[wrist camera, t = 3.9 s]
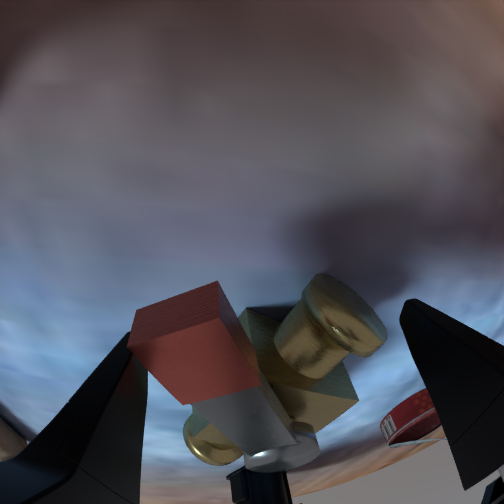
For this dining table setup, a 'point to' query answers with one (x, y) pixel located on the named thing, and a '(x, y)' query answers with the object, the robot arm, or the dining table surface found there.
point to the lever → (220, 376)
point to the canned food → (410, 421)
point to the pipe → (10, 442)
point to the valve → (301, 361)
